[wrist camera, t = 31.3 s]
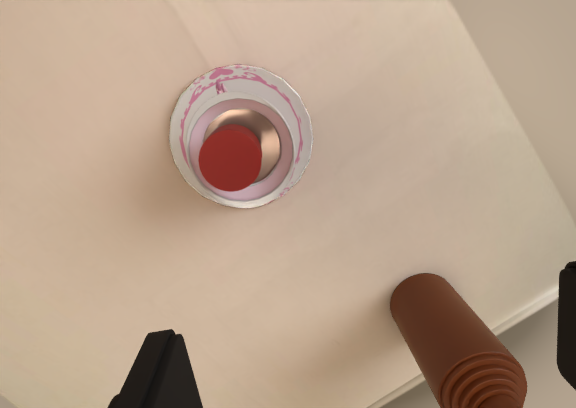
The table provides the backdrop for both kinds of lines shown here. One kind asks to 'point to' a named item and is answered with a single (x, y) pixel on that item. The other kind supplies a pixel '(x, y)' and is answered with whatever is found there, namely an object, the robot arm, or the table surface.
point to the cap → (230, 158)
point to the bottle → (455, 347)
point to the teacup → (251, 114)
